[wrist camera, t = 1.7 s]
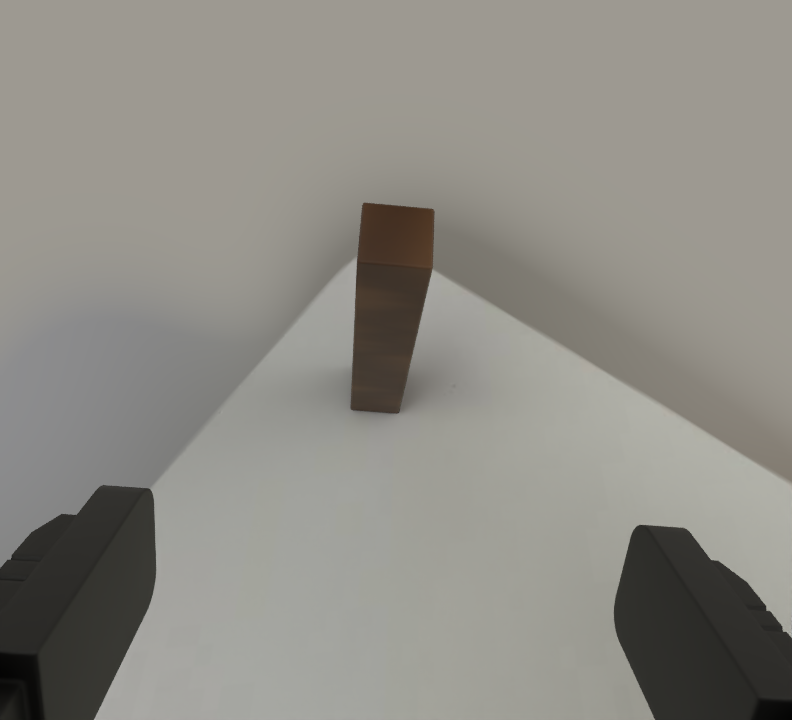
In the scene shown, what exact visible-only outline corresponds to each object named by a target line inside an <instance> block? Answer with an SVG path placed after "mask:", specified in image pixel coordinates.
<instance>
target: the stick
mask: <svg viewBox="0 0 792 720" xmlns="http://www.w3.org/2000/svg"><path fill="white" fill-rule="evenodd" d="M433 240H434V210H433V209H428V208H417V207H406V206H395V205H384V204H374V203H363V205H362V215H361V225H360V236H359V247H358V258H357V276H356V298H355V321H354V343H353V365H352V388H351V410H360V411H373V412H386V413H399V410H400V406H401V402H402V397H403V393H404V389H405V384H406V380H407V376H408V371H409V367H410V363H411V359H412V354H413V350H414V346H415V341H416V337H417V333H418V329H419V324H420V320H421V316H422V311H423V307H424V303H425V298H426V294H427V290H428V286H429V281H430V277H431V273H432V268H433Z"/></svg>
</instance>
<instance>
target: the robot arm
mask: <svg viewBox="0 0 792 720" xmlns="http://www.w3.org/2000/svg"><path fill="white" fill-rule="evenodd" d="M155 578H156V550H155V520H154V499H153V494H152V491H151V490H150V489H148V488H134V487H119V486H106V485H103V486H100V487H99V488H98V489H97V490H96V491H95V493H94V494H93V495H92V496H91V498H90V499H89V500H88V501H87V503H86V504H85V505H84V506H83V508H82V509H81V510H80V512H79V513H78V514H77V515H68V514H61V515H59V516H58V517H56V518H54V519H53V520H51V521H49V522H48V523H46V524H45V525H43V526H41V527H40V528H38V529H36V530H35V531H33V532H31V534H30V535H29V536H28V537H27V538H26V539H25V541H24V542H23V543H22V544H21V545H20V546H19V547H18V548H17V550H16V551H15V552H14V553H13V554H12V558H11V560H7V561H6V562H5V563H4V565H3V566H2V567H1V568H0V720H94V718H95V716H96V714H97V712H98V710H99V708H100V706H101V704H102V702H103V700H104V698H105V696H106V694H107V692H108V689H109V687H110V685H111V683H112V681H113V679H114V677H115V675H116V673H117V671H118V669H119V667H120V665H121V663H122V661H123V659H124V657H125V655H126V653H127V651H128V649H129V646H130V644H131V642H132V640H133V638H134V636H135V634H136V632H137V630H138V628H139V626H140V624H141V622H142V620H143V618H144V616H145V614H146V612H147V609H148V607H149V605H150V602H151V598H152V595H153V590H154V585H155ZM614 622H615V629H616V633H617V637H618V639H619V642H620V644H621V646H622V648H623V651H624V653H625V655H626V657H627V659H628V661H629V664H630V666H631V668H632V670H633V672H634V675H635V677H636V679H637V681H638V683H639V685H640V688H641V690H642V692H643V694H644V696H645V698H646V701H647V703H648V705H649V707H650V709H651V712H652V714H653V716H654V718H655V720H792V638H791V637H790V636H789V634H788V633H787V632H783V630H782V626H781V624H780V623H779V622H778V621H777V619H776V618H775V617H774V616H773V614H772V613H771V612H770V611H766V606H765V604H764V603H763V602H762V601H761V599H760V598H759V597H758V596H757V594H756V593H755V592H754V591H753V589H752V588H751V587H750V586H749V584H748V583H747V582H746V581H744V580H743V579H742V578H740V577H739V576H738V575H736V574H735V573H734V572H732V571H731V570H730V569H728V568H727V567H726V566H724V565H723V564H722V563H720V562H719V561H714V560H710V558H709V557H708V556H707V554H706V553H705V552H704V550H703V549H702V548H701V546H700V545H699V544H698V542H697V541H696V540H695V538H694V537H693V536H692V534H691V533H690V532H689V531H688V530H687V529H685V528H677V527H663V526H649V525H639V526H637V527H636V528H635V529H634V531H633V533H632V535H631V538H630V542H629V546H628V550H627V554H626V558H625V562H624V566H623V570H622V574H621V578H620V582H619V586H618V590H617V594H616V598H615V605H614Z"/></svg>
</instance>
